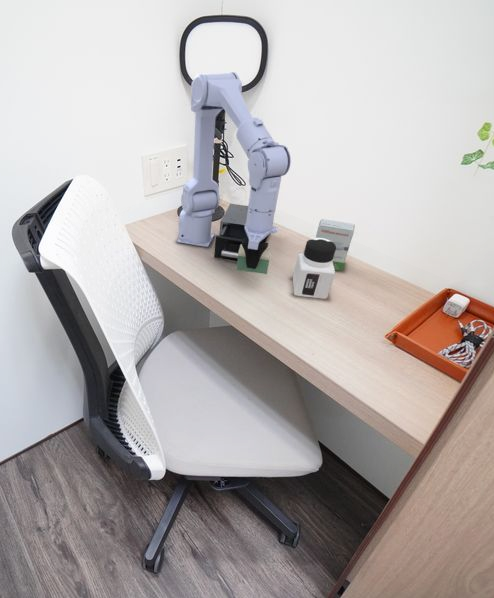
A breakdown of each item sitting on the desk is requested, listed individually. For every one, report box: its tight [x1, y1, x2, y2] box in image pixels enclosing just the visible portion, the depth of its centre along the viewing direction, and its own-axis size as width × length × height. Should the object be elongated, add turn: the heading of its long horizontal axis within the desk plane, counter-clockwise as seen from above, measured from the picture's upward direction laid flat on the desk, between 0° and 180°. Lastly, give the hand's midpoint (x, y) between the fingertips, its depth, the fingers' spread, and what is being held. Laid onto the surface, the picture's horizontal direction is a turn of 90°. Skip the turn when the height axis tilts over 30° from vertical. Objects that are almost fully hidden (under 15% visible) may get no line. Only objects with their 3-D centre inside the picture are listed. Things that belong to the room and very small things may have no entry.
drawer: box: [213, 225, 248, 262], centre depth 99 cm, size 17×11×6 cm
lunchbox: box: [236, 244, 272, 275], centre depth 84 cm, size 7×4×4 cm, turn 75°
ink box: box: [315, 218, 355, 272], centre depth 96 cm, size 9×5×12 cm, turn 66°
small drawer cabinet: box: [218, 203, 248, 236], centre depth 108 cm, size 14×13×8 cm
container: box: [292, 237, 336, 300], centre depth 86 cm, size 8×8×13 cm
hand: (253, 262), depth 84 cm, fingers closed on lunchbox, 4 cm apart
